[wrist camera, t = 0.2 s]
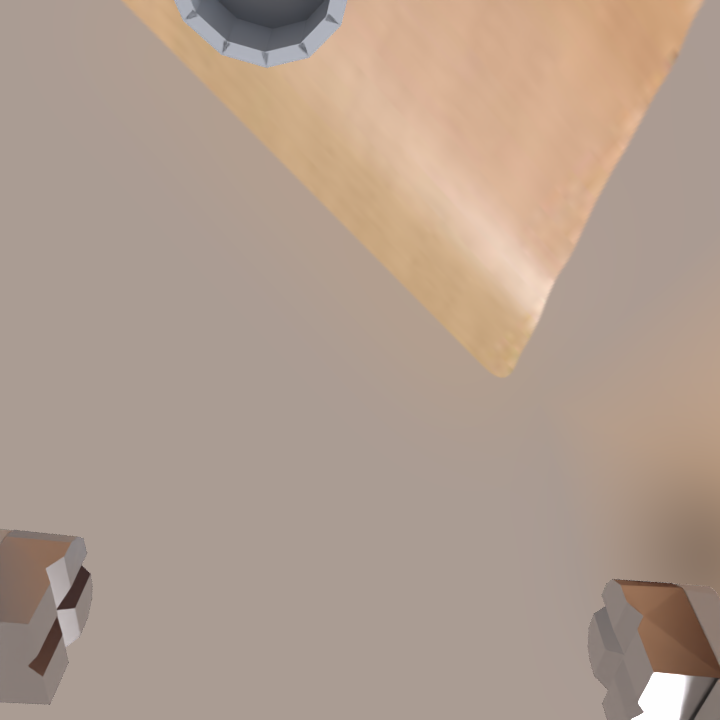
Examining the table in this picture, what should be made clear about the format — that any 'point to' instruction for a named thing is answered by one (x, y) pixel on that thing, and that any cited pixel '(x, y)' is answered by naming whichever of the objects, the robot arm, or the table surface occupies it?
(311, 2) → the bowl
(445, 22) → the table surface
